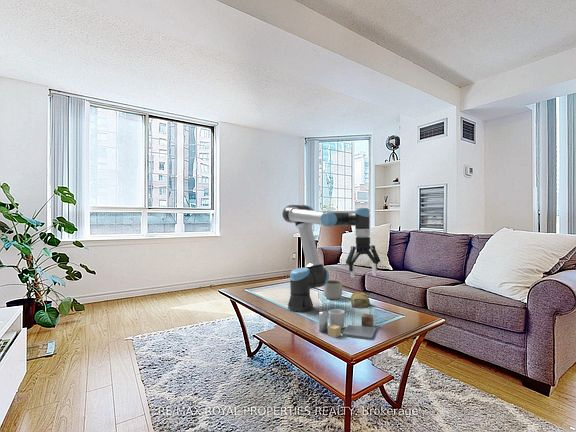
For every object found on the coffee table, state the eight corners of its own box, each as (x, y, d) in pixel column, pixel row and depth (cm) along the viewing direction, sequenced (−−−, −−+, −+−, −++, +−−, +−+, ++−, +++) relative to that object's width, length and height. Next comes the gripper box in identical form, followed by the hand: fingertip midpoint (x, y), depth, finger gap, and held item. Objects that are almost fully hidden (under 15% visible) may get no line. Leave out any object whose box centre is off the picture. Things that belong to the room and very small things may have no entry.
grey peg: (318, 332, 140) (317, 312, 140) (320, 329, 144) (320, 310, 144) (326, 333, 138) (326, 313, 139) (328, 330, 142) (328, 311, 142)
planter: (329, 295, 211) (328, 279, 212) (345, 297, 204) (345, 281, 204) (320, 299, 201) (320, 282, 202) (337, 301, 194) (336, 284, 194)
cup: (325, 323, 152) (325, 307, 152) (341, 322, 152) (340, 307, 153) (330, 331, 141) (330, 314, 141) (347, 330, 142) (346, 313, 142)
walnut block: (361, 326, 146) (361, 316, 146) (363, 323, 151) (363, 313, 151) (372, 328, 144) (371, 317, 144) (373, 324, 149) (373, 314, 149)
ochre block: (328, 335, 136) (328, 326, 136) (333, 333, 139) (333, 324, 139) (335, 338, 133) (335, 328, 133) (340, 335, 136) (340, 326, 136)
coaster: (342, 335, 135) (342, 333, 135) (348, 326, 147) (348, 324, 147) (372, 339, 130) (372, 337, 130) (376, 329, 142) (375, 327, 142)
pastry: (360, 301, 194) (359, 288, 194) (375, 305, 183) (375, 292, 183) (344, 305, 186) (343, 292, 186) (359, 309, 175) (358, 295, 176)
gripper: (346, 237, 153) (347, 279, 153) (386, 236, 162) (387, 275, 161) (338, 237, 160) (339, 277, 160) (377, 235, 169) (378, 273, 168)
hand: (363, 276), depth 161 cm, fingers open, 13 cm apart
